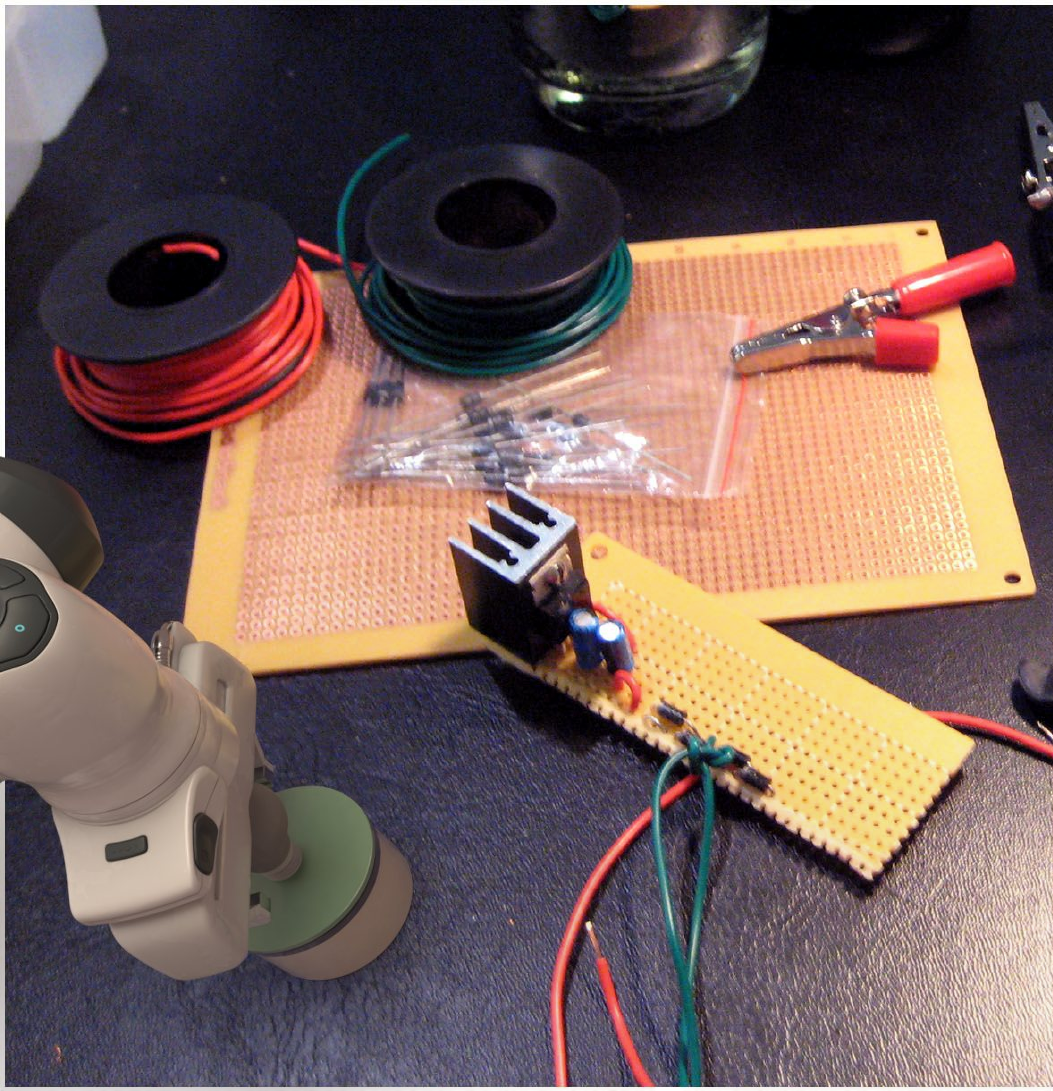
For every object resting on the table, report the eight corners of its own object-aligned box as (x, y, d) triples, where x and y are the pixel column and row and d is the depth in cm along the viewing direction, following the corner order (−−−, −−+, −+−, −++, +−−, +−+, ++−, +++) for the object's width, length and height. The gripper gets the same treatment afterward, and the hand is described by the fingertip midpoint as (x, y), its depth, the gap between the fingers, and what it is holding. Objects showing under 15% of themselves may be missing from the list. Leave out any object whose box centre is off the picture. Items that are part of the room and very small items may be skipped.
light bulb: (317, 907, 81) (244, 857, 72) (229, 909, 81) (146, 859, 73) (340, 821, 84) (272, 764, 76) (255, 823, 84) (178, 766, 76)
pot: (255, 1004, 86) (193, 972, 79) (260, 852, 92) (202, 809, 85) (421, 959, 87) (374, 924, 80) (414, 812, 93) (370, 767, 86)
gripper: (105, 620, 73) (218, 720, 85) (67, 949, 62) (203, 1013, 74) (213, 595, 74) (310, 697, 85) (194, 916, 63) (309, 984, 74)
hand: (261, 846), depth 79 cm, fingers open, 8 cm apart
